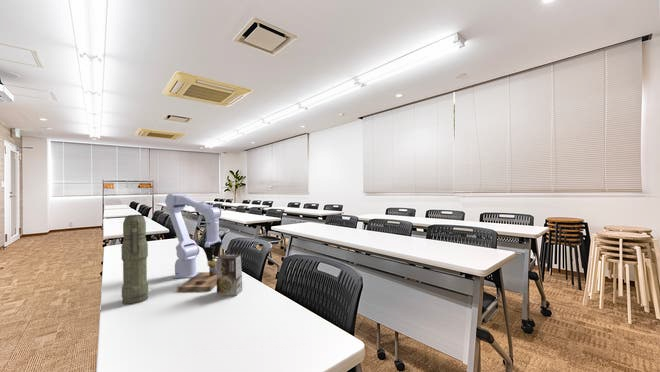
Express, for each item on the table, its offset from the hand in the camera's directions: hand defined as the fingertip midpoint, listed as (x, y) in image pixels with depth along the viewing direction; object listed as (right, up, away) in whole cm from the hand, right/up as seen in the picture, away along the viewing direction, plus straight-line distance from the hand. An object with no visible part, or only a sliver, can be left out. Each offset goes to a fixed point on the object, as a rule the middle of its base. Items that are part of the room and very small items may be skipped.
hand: (213, 258), depth 137 cm
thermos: (-21, -11, -25) cm, 35 cm away
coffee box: (+15, -10, -18) cm, 26 cm away
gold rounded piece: (0, -8, 0) cm, 8 cm away
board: (-2, -10, -6) cm, 12 cm away
